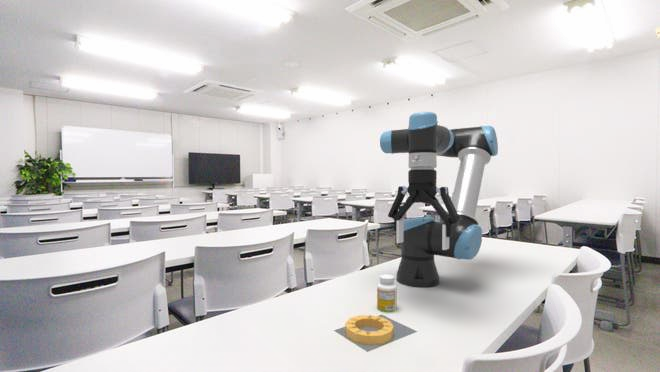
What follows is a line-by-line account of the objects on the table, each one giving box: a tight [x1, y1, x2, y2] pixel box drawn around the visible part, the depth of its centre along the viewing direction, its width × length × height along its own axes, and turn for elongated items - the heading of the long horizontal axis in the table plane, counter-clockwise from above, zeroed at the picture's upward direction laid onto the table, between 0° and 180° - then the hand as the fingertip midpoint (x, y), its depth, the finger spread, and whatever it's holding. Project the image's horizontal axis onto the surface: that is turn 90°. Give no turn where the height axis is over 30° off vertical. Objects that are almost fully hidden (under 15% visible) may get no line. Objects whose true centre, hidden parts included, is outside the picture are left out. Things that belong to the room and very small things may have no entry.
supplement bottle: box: [376, 274, 398, 314], centre depth 91 cm, size 5×5×10 cm
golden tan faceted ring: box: [344, 314, 394, 345], centre depth 77 cm, size 11×11×2 cm
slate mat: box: [334, 314, 418, 353], centre depth 78 cm, size 12×16×1 cm
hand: (421, 245), depth 90 cm, fingers open, 13 cm apart
